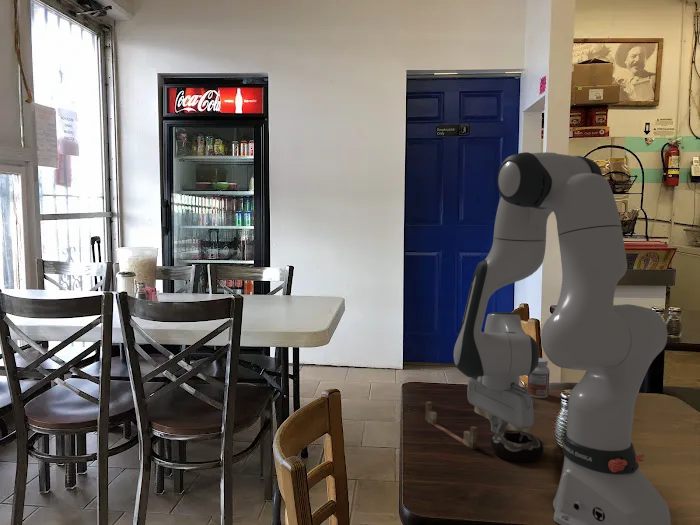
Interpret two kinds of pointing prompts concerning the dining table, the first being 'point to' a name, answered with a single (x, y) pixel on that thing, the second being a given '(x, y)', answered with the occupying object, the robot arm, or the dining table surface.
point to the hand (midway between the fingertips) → (497, 433)
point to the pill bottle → (539, 380)
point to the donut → (517, 446)
